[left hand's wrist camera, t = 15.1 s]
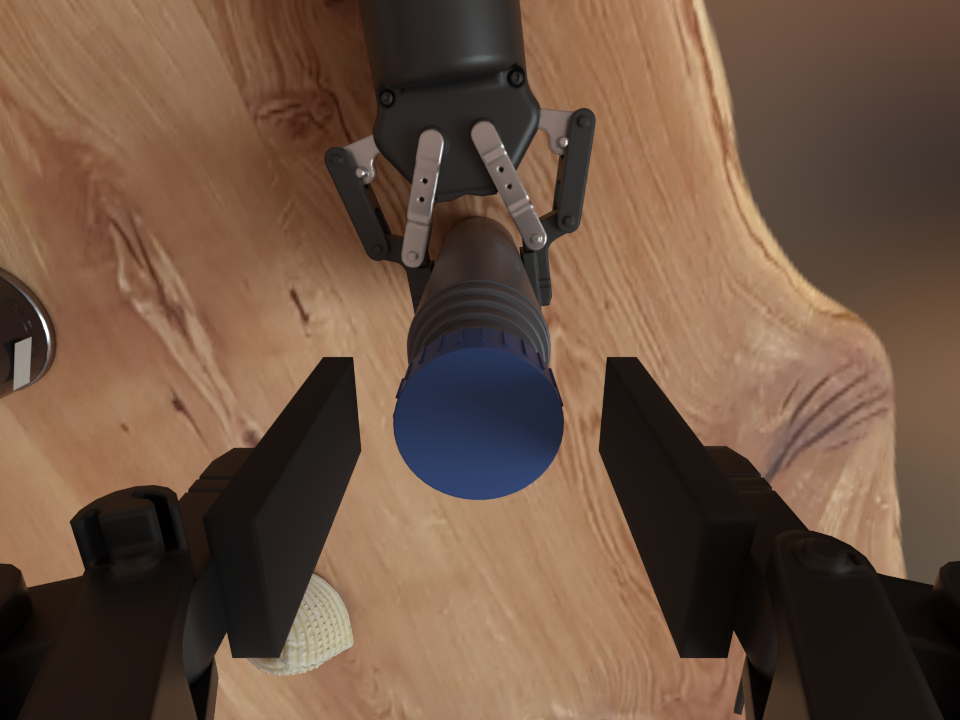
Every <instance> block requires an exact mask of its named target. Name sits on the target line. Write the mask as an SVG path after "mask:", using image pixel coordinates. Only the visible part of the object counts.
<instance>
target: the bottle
mask: <svg viewBox="0 0 960 720" xmlns="http://www.w3.org/2000/svg"><path fill="white" fill-rule="evenodd" d="M482 326H485V328H486V329H494V330H498V331H503V330H505V331H506V333H508V334H511V335H513V336H515V337H517V338H519V339H521V340H522V339H525V341H526V343H527V344H528V345H530V346H531V347H532V348H533V349H534V350H535V351H536V352H537V353H538V352H540V353H541V356H542V359H543V360H544V362H545V363H546V365H547V367H549V361H550V347H551V344H550V335H549V331H548V327H547V324H546V322H545V319H544V317H543V314H542V312H541V309H540V307H539V304H538V301H537V299H536V296H535V294H534V291H533V289H532V286H531V284H530V281H529V278H528V276H527V273H526V271H525V268H524V266H523V263H522V260H521V258H520V255H519V253H518V250H517V248H516V245H515V243H514V240H513V238H512V236H511V234H510V233H509V231H508V230H507V229H506V228H505V227H504V226H503V225H501V224H500V223H499V222H497V221H495V220H492V219H490V218H485V217H473V218H468V219H465V220H463V221H461V222H460V223H458V224H457V225H455V226H454V227H453V228H452V229H451V230H450V231H449V233H448V234H447V236H446V238H445V240H444V243H443V245H442V248H441V250H440V253H439V255H438V258H437V260H436V263H435V265H434V268H433V270H432V273H431V275H430V278H429V280H428V283H427V285H426V288H425V290H424V293H423V295H422V298H421V300H420V303H419V306H418V308H417V311H416V313H415V316H414V318H413V321H412V323H411V326H410V329H409V333H408V339H407V355H408V364H409V363H410V361H412V362H413V361H414V359H415V358H416V357H417V355H418V354H419V353H420V352H421V351H422V347H423V346H426V347H427V346H428V345H429V344H430V343H432V342H433V341H435V340H437V339H438V338H439V336H440V335H442V334H443V336H444V335H447V334H449V333H452V332H455V331H459V330H460V328H463V329H470V328H481V327H482Z"/></svg>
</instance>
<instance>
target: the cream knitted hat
mask: <svg viewBox="0 0 960 720" xmlns="http://www.w3.org/2000/svg"><path fill="white" fill-rule="evenodd" d="M353 643H354V641H353V635H352V628H351V625H350V620H349V615H348V612H347V609H346V607H345V605H344V603H343V601H342V599H341V598H340V596H339V594H338V593H337V592H336V591H335V590H334V588H333V587H332V586H331V585H330V584H329V583H327V582H326V581H325V580H324V579H322V578H320V577H319V576H317V575H315V574H312V577H311V579H310V582H309V584H308V587H307V589H306V592H305V594H304V597H303V599H302V602H301V605H300V607H299V610H298V612H297V615H296V617H295V620H294V622H293V625H292V627H291V630H290V632H289V635H288V638H287V640H286V643H285V645H284V648H283V650H282V653H281V655H280V658H247V659H248V660H249V661H250V662H251V663H252V664H253V665H254V666H255V667H257V669H260V670H262V672H263V671H266V672H267V674H268V673H272V674H274V675H278V676H280V675H294V674H296V673H297V674H300V673H302V672H303V673H306V672H307V671H308V670H310V671H311V670H312V669H313V668H318V666H319V665H320V664H323V663H324V661H326V660H328V659H331V658H332V657H333V656H335V655H337V654H339V653H340V652H342V651H343V650H345V649H348V648H350V647H352V645H353Z"/></svg>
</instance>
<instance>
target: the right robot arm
mask: <svg viewBox="0 0 960 720" xmlns="http://www.w3.org/2000/svg"><path fill="white" fill-rule="evenodd" d="M358 3H359V8H360V14H361V19H362V24H363V30H364V35H365V40H366V46H367V51H368V56H369V62H370V67H371V72H372V78H373V83H374V88H375V93H376V99H377V116H376V121H375V124H374V127H373V134H372V135H370V136H368V137H365V138H363V139H361V140H359V141H356V142H354V143H352V144H349V145H347V146H345V147H332V148H330V149H329V150H328V151H327V152H326V154H325V158H324V159H325V164H326V166H327V168H328V171H329V173H330V175H331V177H332V179H333V181H334V184H335V186H336V188H337V190H338V192H339V194H340V196H341V199H342V201H343V203H344V205H345V207H346V209H347V212H348V214H349V216H350V218H351V220H352V222H353V225H354V227H355V229H356V231H357V233H358V235H359V238H360V240H361V242H362V244H363V246H364V248H365V251H366V253H367V255H368V256H369V257H370V258H371V259H373V260H375V261H381V260H388V261H392V262H397V263H399V264H401V265H402V266H403V267H404V268H405V270H406V272H407V276H408V282H409V287H410V292H411V297H412V303H413V308H414V313H416V311H417V308H418V306H419V303H420V300H421V298H422V295H423V293H424V290H425V288H426V285H427V283H428V280H429V278H430V275H431V273H432V270H433V268H434V265H435V263H434V260H430V258H429V252H428V247H429V242H430V236H431V231H432V226H433V221H434V217H435V212H436V207H437V203H439V202H446V201H452V200H454V199H457V198H459V197H461V196H463V195H466V194H469V195H476V196H487V195H494V194H497V192H499V193H500V195H501V197H502V199H503V201H504V203H505V205H506V207H507V209H508V211H509V213H510V215H511V217H512V219H513V221H514V223H515V225H516V227H517V229H518V231H519V233H520V235H521V237H522V242H523V247H519V248H520V256H521V260H522V263H523V266H524V268H525V271H526V273H527V276H528V278H529V281H530V284H531V286H532V289H533V291H534V294H535V296H536V299H537V301H538V304H539V307H540V309H541V306H546V305H549V304H550V301H551V298H552V291H551V281H550V271H549V261H548V248H549V246H550V244H551V243H552V241H554V240H555V239H557V238H559V237H560V236H562V235H564V234H566V233H572V232H574V231H575V230H577V228H578V227H579V225H580V221H581V214H582V208H583V201H584V194H585V188H586V181H587V175H588V168H589V162H590V155H591V149H592V142H593V135H594V129H595V122H596V119H595V115H594V113H593V112H592V111H591V110H589V109H587V108H581V109H579V110H576V111H574V112H571V111H561V110H551V109H541V108H540V105H539V103H538V101H537V100H536V98H535V97H534V95H533V94H532V92H531V90H530V87H529V84H528V80H527V72H526V62H525V52H524V42H523V32H522V22H521V12H520V2H519V0H358ZM538 129H540V130H542V131H543V132H545V134H546V135H547V138H548V147H549V149H550V151H551V152H552V153H554V154H556V155H560V156H559V163H558V171H557V178H556V186H555V193H554V201H553V208H552V211H551V212H549V213H547V214H545V215H543V216H542V217H540V218H538V216H537V214H536V212H535V210H534V208H533V206H532V204H531V201H530V199H529V197H528V195H527V193H526V191H525V189H524V187H523V185H522V182H521V180H520V178H519V176H518V174H517V172H516V170H517V168H518V166H519V164H520V163H521V161H522V159H523V157H524V155H525V153H526V151H527V149H528V147H529V145H530V143H531V141H532V140H533V138H534V136H535V134H536V132H537V130H538ZM379 154H382V155H383V156H384V157H385V158H386V159H387V160H388V161H389V162H390V163H391V164H392V165H393V166H394V167H395V168H396V169H397V170H398V171H399V172H400V173H401V174H402V175H403V176H404V177H405V178H406V180H407V181H408V182H409V183H410V184H411V185H412V188H411V194H410V200H409V206H408V212H407V223H406V230H405V236H404V237H403V236H398V235H394V234H392V232H391V230H390V228H389V226H388V223H387V221H386V219H385V217H384V214H383V212H382V210H381V207H380V205H379V203H378V201H377V198H376V196H375V194H374V192H373V189H372V187H371V185H370V183H371V182H373V181H374V180H375V179H376V177H377V168H376V159H377V157H378V156H379ZM55 354H56V335H55V330H54V326H53V323H52V321H51V318H50V316H49V314H48V312H47V310H46V309H45V307H44V305H43V304H42V303H41V301H40V300H39V299H38V297H37V296H36V295H35V294H34V293H33V292H32V291H31V290H30V289H29V288H28V287H27V286H26V285H25V284H24V283H23V282H21V281H20V280H19V279H17V278H16V277H14V276H13V275H11V274H10V273H8V272H6V271H4V270H3V269H0V399H2V398H4V397H6V396H8V395H9V394H11V393H13V392H16V391H19V390H22V389H24V388H26V387H28V386H30V385H32V384H34V383H36V382H37V381H39V380H40V379H41V378H42V377H43V376H44V375H45V374H46V373H47V372H48V371H49V369H50V367H51V366H52V363H53V361H54V358H55Z"/></svg>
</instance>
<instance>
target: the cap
mask: <svg viewBox="0 0 960 720" xmlns="http://www.w3.org/2000/svg"><path fill="white" fill-rule="evenodd" d="M396 398H397V399H398V400H397V403H396V407H395V411H394V414H393V418H394V421H393V426H394V436H395V440H396V444H397V447H398V449H399V452H400V454H401V456H402V458H403V459H404V461H405V463H406V464H407V465H408V467H409V468H410V469H411V470H412V472H413V473H414V474H415V475H416V476H417V477H418V478H420V479H421V480H422V481H423V482H425V483H426V484H428V485H429V486H431V487H432V488H434V489H436V490H438V491H440V492H442V493H445V494H448V495H451V496H454V497H458V498H463V499H471V500H486V499H495V498H499V497H503V496H507V495H510V494H512V493H515V492H517V491H519V490H521V489H523V488H525V487H527V486H528V485H530V484H531V483H533V482H534V481H535V480H536V479H538V478H539V477H540V476H541V475H542V474H543V473H544V472H545V471H546V469H547V468H548V467H549V466H550V464H551V463H552V461H553V460H554V458H555V456H556V454H557V452H558V450H559V447H560V444H561V441H562V436H563V430H564V418H563V410H562V406H563V402H562V399H561V396H560V393H559V390H558V387H557V384H556V381H555V378H554V375H553V372H552V369H551V368H548V367H547V365H546V363H545V362H544V360H543V359H542V356H541V353H540V352H538V353H537V352H536V351H535V350H534V349H533V348H532V347H531V346H530V345H528V344H527V343H526V341H525V339H522V340H521V339H519V338H517V337H515V336H513V335H511V334H508V333H506V331H505V330H503V331H498V330H494V329H486V328H485V326H482V327H481V328H470V329H463V328H460V330H459V331H455V332H452V333H449V334H447V335H444V336H443V334H442V335H440V336H439V338H438V339H437V340H435V341H433V342H432V343H430V344H429V345H428V346H427V347H426V346H423V347H422V351H421V352H420V353H419V354H418V355H417V357H416V358H415V359H414V361H413V362H412V361H410V363H409V366H408V369H407V372H406V375H405V378H404V379H403V378H402V380H401V383H400V386H399V389H398V392H397V395H396Z"/></svg>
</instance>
